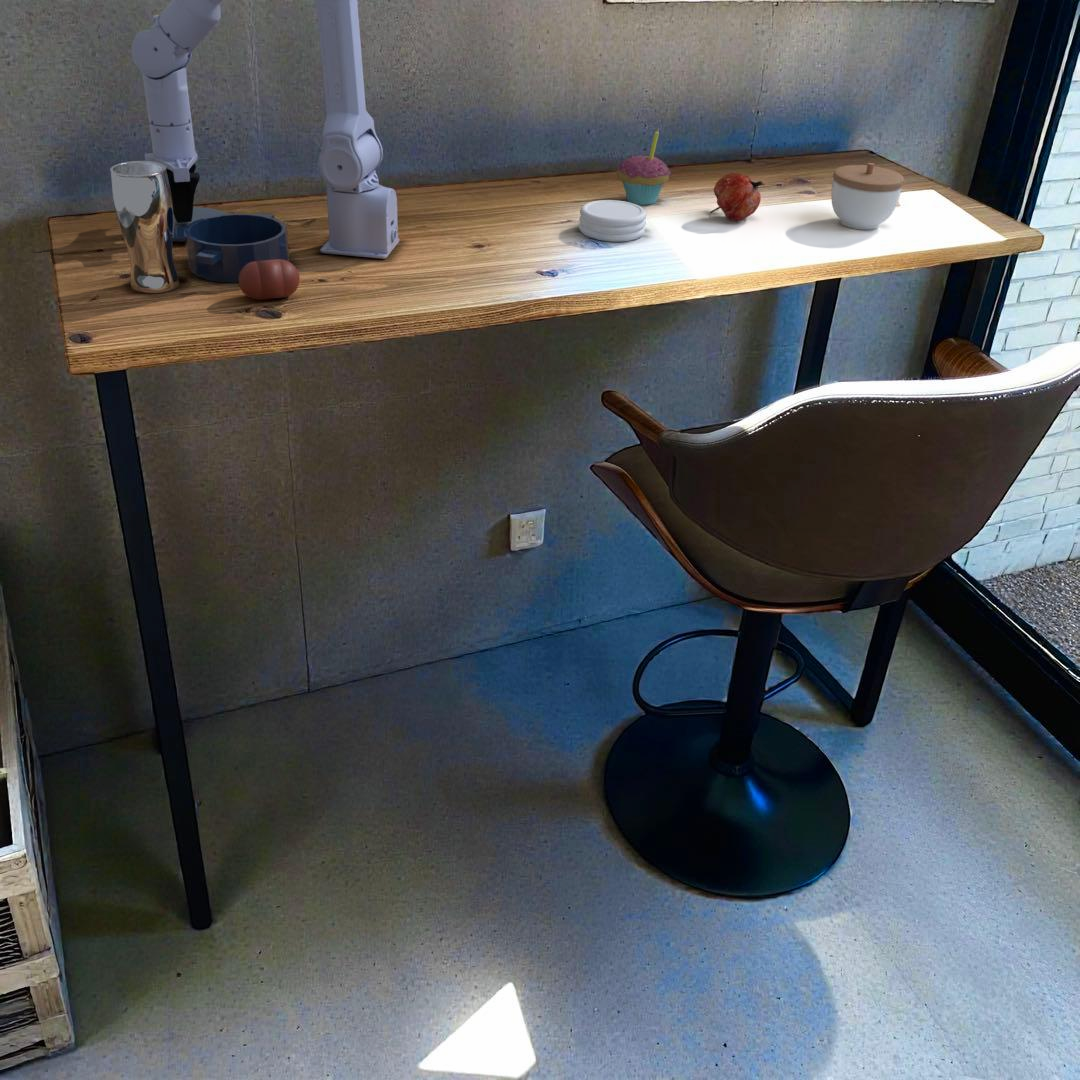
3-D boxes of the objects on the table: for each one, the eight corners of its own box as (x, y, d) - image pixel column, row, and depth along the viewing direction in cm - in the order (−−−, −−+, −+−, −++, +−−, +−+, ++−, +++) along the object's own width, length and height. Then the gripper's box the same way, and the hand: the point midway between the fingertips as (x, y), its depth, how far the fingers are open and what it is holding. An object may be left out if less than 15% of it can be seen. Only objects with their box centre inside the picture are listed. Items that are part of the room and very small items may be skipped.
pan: (312, 249, 165) (309, 214, 162) (254, 295, 150) (250, 257, 147) (226, 238, 167) (222, 203, 164) (160, 282, 152) (155, 245, 149)
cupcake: (675, 199, 191) (683, 124, 185) (651, 212, 185) (658, 134, 179) (630, 189, 195) (636, 115, 189) (604, 201, 189) (610, 125, 182)
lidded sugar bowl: (842, 235, 179) (853, 174, 174) (814, 213, 188) (824, 154, 183) (905, 233, 182) (919, 173, 176) (875, 212, 190) (887, 153, 185)
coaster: (565, 230, 176) (566, 207, 174) (607, 217, 182) (609, 194, 180) (616, 247, 171) (617, 224, 169) (657, 233, 177) (660, 210, 175)
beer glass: (133, 275, 154) (115, 159, 145) (187, 275, 154) (172, 160, 146) (122, 294, 148) (102, 175, 140) (178, 295, 148) (162, 176, 140)
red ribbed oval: (296, 288, 152) (293, 252, 150) (304, 301, 148) (301, 265, 146) (237, 293, 150) (233, 257, 147) (243, 307, 146) (239, 270, 143)
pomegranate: (706, 235, 184) (756, 208, 177) (689, 191, 183) (739, 162, 176) (730, 230, 189) (781, 203, 182) (714, 187, 189) (764, 159, 182)
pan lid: (250, 220, 174) (247, 191, 172) (205, 250, 163) (201, 220, 160) (163, 209, 177) (159, 181, 174) (113, 238, 165) (108, 208, 163)
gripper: (135, 110, 166) (148, 205, 173) (145, 136, 154) (159, 236, 162) (186, 108, 168) (197, 201, 175) (200, 133, 157) (211, 232, 164)
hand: (182, 218), depth 169 cm, fingers closed on pan lid, 2 cm apart
